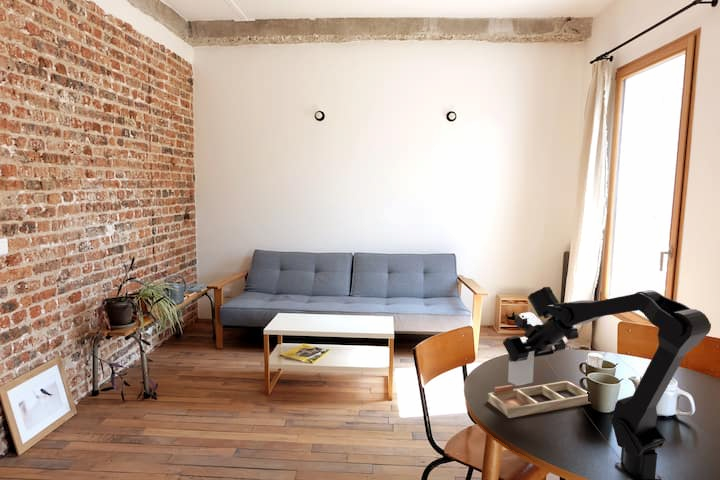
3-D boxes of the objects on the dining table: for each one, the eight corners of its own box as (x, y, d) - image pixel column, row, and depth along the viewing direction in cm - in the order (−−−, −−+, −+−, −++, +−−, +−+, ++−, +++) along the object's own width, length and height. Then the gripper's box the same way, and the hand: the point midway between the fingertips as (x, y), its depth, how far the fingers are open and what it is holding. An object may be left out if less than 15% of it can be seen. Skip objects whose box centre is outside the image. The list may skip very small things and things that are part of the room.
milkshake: (606, 384, 144) (608, 354, 142) (588, 382, 145) (590, 352, 144) (601, 378, 148) (603, 349, 147) (584, 377, 149) (586, 348, 148)
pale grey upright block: (532, 382, 129) (534, 340, 127) (517, 386, 126) (519, 343, 125) (523, 377, 132) (525, 336, 131) (508, 381, 129) (509, 339, 128)
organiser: (592, 403, 131) (593, 389, 131) (509, 418, 122) (509, 404, 122) (566, 388, 141) (567, 376, 140) (487, 401, 132) (488, 388, 131)
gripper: (559, 302, 127) (527, 329, 138) (509, 309, 119) (479, 337, 130) (582, 337, 121) (546, 362, 132) (531, 347, 113) (498, 373, 124)
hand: (517, 358), depth 130 cm, fingers closed on pale grey upright block, 6 cm apart
